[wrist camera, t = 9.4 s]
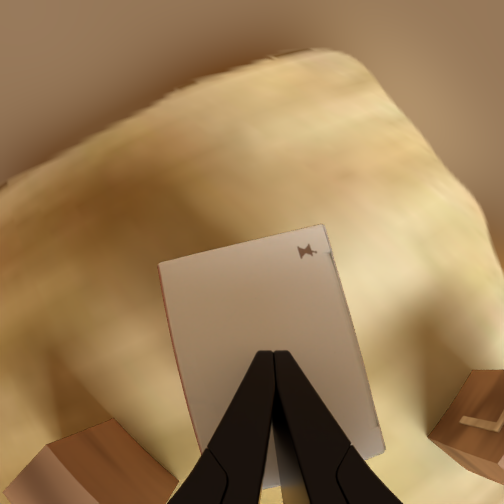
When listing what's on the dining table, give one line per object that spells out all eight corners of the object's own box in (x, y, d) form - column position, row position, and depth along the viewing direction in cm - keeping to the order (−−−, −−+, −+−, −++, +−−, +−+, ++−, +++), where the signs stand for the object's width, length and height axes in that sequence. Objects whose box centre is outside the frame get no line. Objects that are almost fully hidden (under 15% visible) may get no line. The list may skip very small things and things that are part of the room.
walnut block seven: (466, 469, 15) (531, 495, 8) (425, 436, 17) (496, 462, 9) (506, 407, 17) (575, 412, 9) (470, 368, 18) (547, 365, 10)
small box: (203, 307, 20) (152, 254, 10) (290, 286, 20) (324, 215, 10) (233, 430, 17) (210, 502, 7) (322, 408, 17) (390, 454, 8)
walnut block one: (128, 519, 15) (81, 573, 7) (67, 459, 16) (0, 489, 8) (179, 481, 16) (142, 540, 8) (111, 415, 17) (43, 441, 10)
